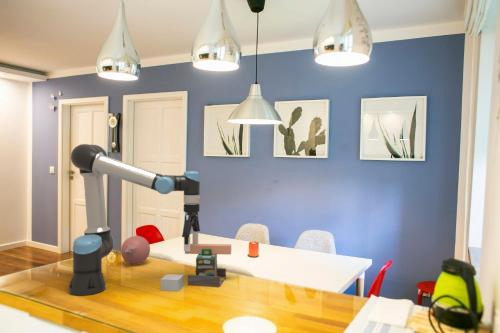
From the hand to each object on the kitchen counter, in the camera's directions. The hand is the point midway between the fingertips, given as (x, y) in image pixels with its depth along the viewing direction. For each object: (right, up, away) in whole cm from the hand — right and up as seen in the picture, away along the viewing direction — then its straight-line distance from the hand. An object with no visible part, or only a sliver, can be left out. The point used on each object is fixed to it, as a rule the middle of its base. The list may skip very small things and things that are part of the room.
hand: (191, 247), depth 188 cm
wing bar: (+8, -1, 0) cm, 8 cm away
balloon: (-36, -15, +27) cm, 47 cm away
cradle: (+8, -16, -1) cm, 18 cm away
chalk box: (+7, -15, -1) cm, 17 cm away
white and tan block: (-7, -16, -11) cm, 20 cm away
